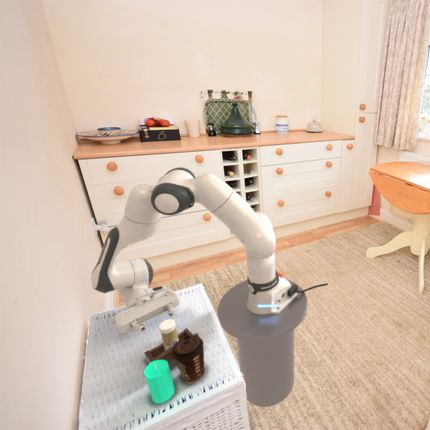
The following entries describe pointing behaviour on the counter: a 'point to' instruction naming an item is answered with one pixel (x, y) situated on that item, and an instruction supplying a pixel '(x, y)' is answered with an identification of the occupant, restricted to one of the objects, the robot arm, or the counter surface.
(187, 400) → the counter surface
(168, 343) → the sprinkles bottle
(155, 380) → the candle
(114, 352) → the counter surface
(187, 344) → the coffee cup
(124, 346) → the counter surface
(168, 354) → the spice rack
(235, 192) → the robot arm
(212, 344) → the counter surface
